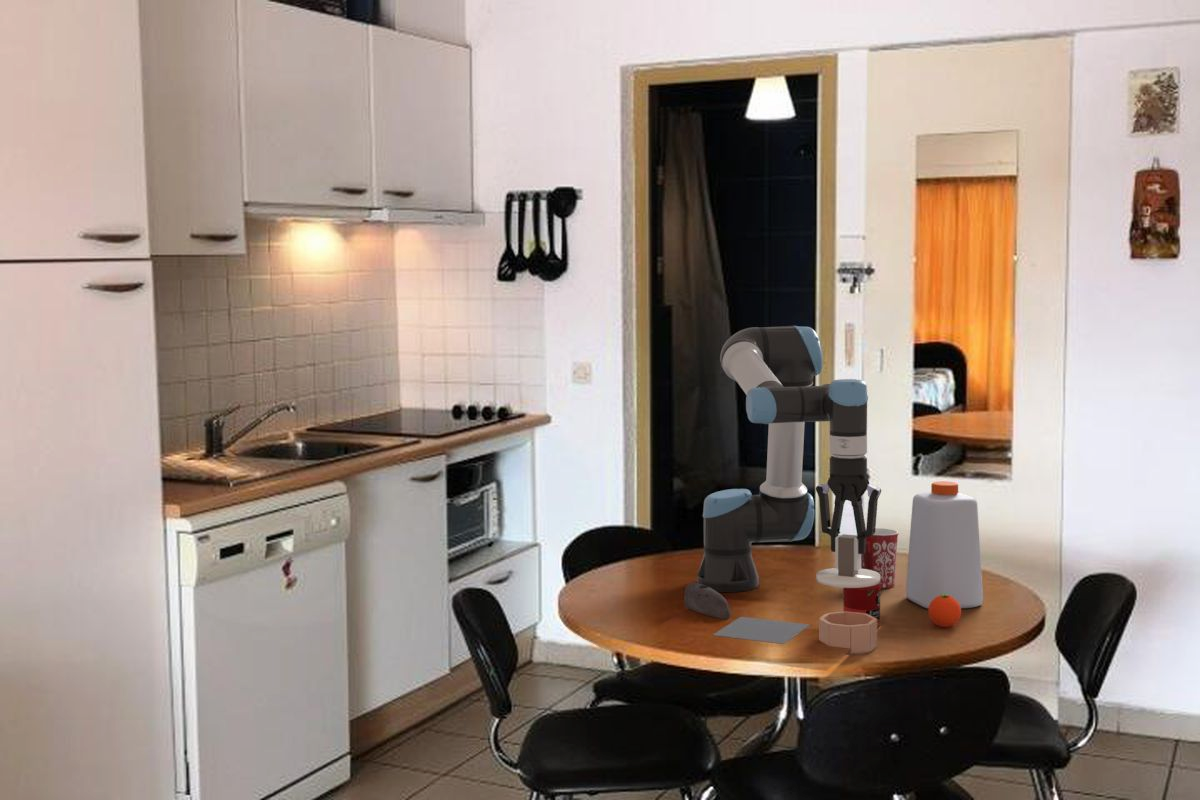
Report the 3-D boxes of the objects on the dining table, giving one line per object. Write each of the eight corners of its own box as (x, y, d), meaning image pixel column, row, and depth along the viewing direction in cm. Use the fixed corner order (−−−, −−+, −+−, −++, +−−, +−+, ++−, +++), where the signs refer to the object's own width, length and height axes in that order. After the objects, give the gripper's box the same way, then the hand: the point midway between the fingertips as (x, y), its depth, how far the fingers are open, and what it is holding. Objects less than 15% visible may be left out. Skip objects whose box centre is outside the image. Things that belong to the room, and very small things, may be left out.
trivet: (712, 641, 290) (712, 634, 290) (741, 623, 304) (741, 616, 304) (784, 650, 282) (784, 643, 282) (810, 631, 296) (810, 624, 296)
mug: (879, 579, 342) (879, 526, 340) (906, 586, 334) (906, 531, 333) (841, 586, 335) (841, 532, 334) (868, 594, 327) (868, 538, 326)
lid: (807, 584, 280) (807, 539, 279) (828, 570, 291) (827, 528, 290) (869, 590, 274) (869, 544, 273) (888, 576, 285) (888, 532, 284)
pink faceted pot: (813, 650, 282) (813, 622, 281) (830, 637, 292) (830, 609, 291) (866, 657, 277) (866, 628, 276) (881, 643, 287) (881, 615, 286)
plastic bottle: (928, 612, 310) (929, 490, 307) (899, 596, 324) (900, 479, 321) (989, 607, 313) (991, 486, 310) (957, 592, 328) (959, 476, 325)
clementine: (924, 621, 303) (924, 589, 302) (956, 621, 303) (956, 589, 302) (931, 631, 295) (932, 598, 294) (964, 630, 295) (964, 598, 294)
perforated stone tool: (738, 624, 303) (737, 593, 302) (718, 628, 301) (717, 597, 300) (701, 609, 316) (701, 580, 316) (681, 613, 314) (681, 583, 313)
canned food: (872, 633, 294) (872, 583, 293) (837, 628, 298) (837, 579, 297) (885, 625, 300) (885, 575, 299) (851, 620, 305) (851, 571, 303)
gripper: (804, 455, 280) (804, 568, 283) (882, 460, 273) (881, 575, 275) (816, 451, 287) (816, 561, 289) (892, 454, 280) (892, 568, 282)
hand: (848, 568), depth 282 cm, fingers closed on lid, 3 cm apart
